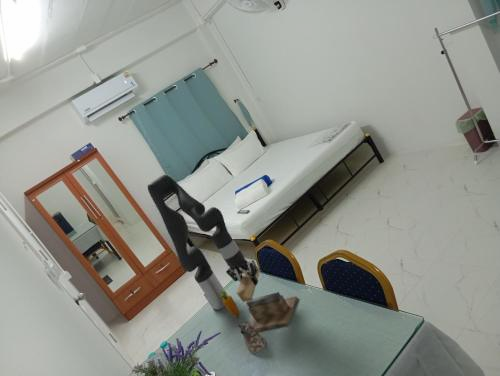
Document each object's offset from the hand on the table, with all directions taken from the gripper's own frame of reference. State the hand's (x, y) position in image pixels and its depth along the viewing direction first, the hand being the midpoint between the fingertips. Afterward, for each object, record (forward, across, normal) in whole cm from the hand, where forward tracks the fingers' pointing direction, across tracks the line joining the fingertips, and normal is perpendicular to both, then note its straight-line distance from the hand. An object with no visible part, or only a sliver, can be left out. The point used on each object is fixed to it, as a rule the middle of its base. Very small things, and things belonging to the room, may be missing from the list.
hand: (251, 285), depth 187 cm
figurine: (+18, +1, +17) cm, 24 cm away
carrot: (+18, +21, -6) cm, 28 cm away
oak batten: (+1, 0, 0) cm, 1 cm away
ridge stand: (+18, 0, -1) cm, 18 cm away
